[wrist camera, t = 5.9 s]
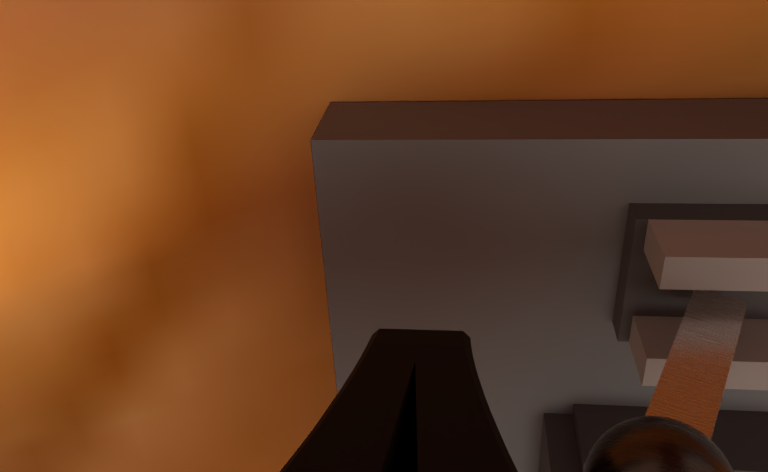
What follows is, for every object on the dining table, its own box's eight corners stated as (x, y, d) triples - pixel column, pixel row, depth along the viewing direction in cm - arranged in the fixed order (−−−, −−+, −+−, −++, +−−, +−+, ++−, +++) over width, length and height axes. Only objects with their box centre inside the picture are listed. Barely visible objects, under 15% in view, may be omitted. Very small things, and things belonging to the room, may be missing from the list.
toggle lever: (651, 341, 12) (556, 564, 9) (667, 255, 12) (568, 461, 8) (764, 373, 12) (710, 634, 8) (791, 282, 11) (744, 530, 7)
